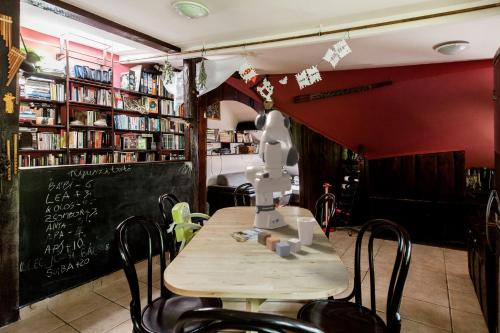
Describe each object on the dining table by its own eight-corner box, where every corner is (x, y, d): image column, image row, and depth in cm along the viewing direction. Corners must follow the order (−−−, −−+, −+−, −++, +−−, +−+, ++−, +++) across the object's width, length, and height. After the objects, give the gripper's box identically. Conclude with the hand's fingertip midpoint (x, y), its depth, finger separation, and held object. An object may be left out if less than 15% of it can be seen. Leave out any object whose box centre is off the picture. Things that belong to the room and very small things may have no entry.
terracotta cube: (274, 246, 151) (274, 236, 151) (280, 249, 147) (280, 239, 146) (266, 247, 149) (266, 238, 149) (271, 250, 145) (271, 241, 144)
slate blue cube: (285, 251, 143) (285, 242, 143) (289, 255, 138) (290, 245, 138) (276, 253, 142) (276, 243, 141) (280, 257, 137) (280, 246, 136)
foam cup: (304, 247, 148) (304, 222, 147) (293, 242, 157) (293, 218, 156) (318, 244, 153) (318, 220, 152) (307, 239, 161) (307, 216, 160)
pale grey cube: (292, 247, 149) (292, 238, 148) (301, 250, 145) (301, 240, 145) (287, 250, 145) (287, 240, 145) (295, 252, 142) (295, 242, 141)
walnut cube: (265, 240, 159) (265, 231, 159) (271, 243, 155) (271, 234, 155) (257, 242, 156) (257, 233, 156) (263, 245, 152) (263, 235, 152)
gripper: (287, 172, 152) (286, 198, 153) (252, 174, 143) (252, 201, 144) (294, 173, 147) (293, 200, 148) (258, 175, 138) (258, 204, 139)
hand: (273, 201), depth 146 cm, fingers open, 8 cm apart
